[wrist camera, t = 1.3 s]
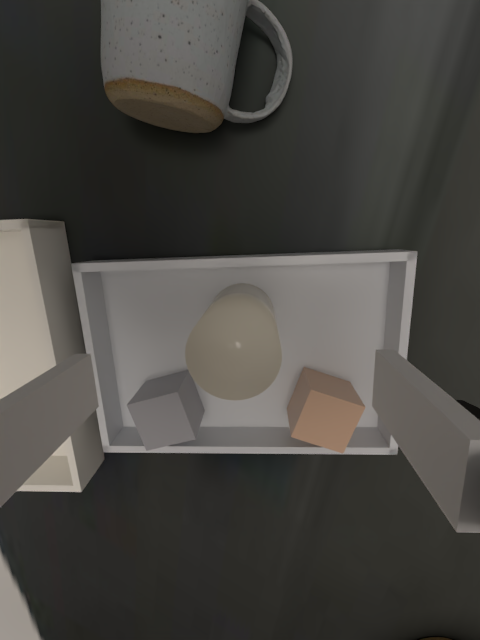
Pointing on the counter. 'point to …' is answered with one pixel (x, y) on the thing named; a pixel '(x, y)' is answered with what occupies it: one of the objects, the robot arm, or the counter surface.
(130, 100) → the ceramic mug
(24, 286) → the bin
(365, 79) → the counter surface
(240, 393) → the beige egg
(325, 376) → the orange cube
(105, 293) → the tray
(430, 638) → the plant pot
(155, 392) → the gray cube
